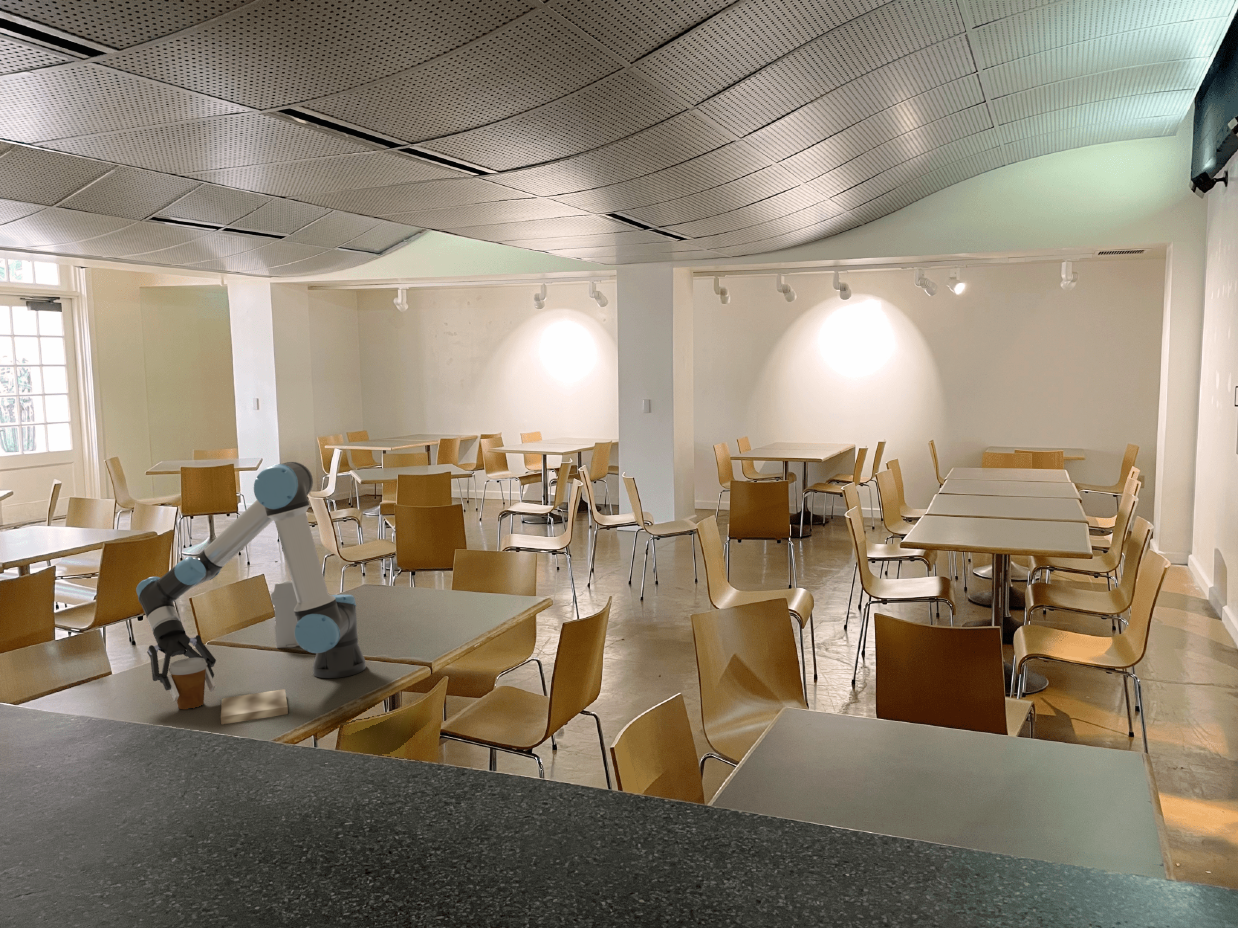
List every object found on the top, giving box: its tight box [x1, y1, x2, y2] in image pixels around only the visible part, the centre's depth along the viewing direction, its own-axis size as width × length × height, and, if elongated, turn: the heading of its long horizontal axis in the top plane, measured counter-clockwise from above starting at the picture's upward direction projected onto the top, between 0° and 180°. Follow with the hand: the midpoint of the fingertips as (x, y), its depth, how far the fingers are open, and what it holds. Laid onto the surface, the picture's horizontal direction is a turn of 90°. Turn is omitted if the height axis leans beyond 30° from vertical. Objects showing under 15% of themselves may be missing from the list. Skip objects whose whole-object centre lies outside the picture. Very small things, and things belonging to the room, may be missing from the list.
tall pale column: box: [270, 580, 300, 649], centre depth 305 cm, size 11×4×22 cm, turn 108°
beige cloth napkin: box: [220, 688, 289, 726], centre depth 243 cm, size 16×16×2 cm
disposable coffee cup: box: [168, 657, 207, 710], centre depth 248 cm, size 10×10×12 cm
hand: (195, 693), depth 246 cm, fingers closed on disposable coffee cup, 9 cm apart
